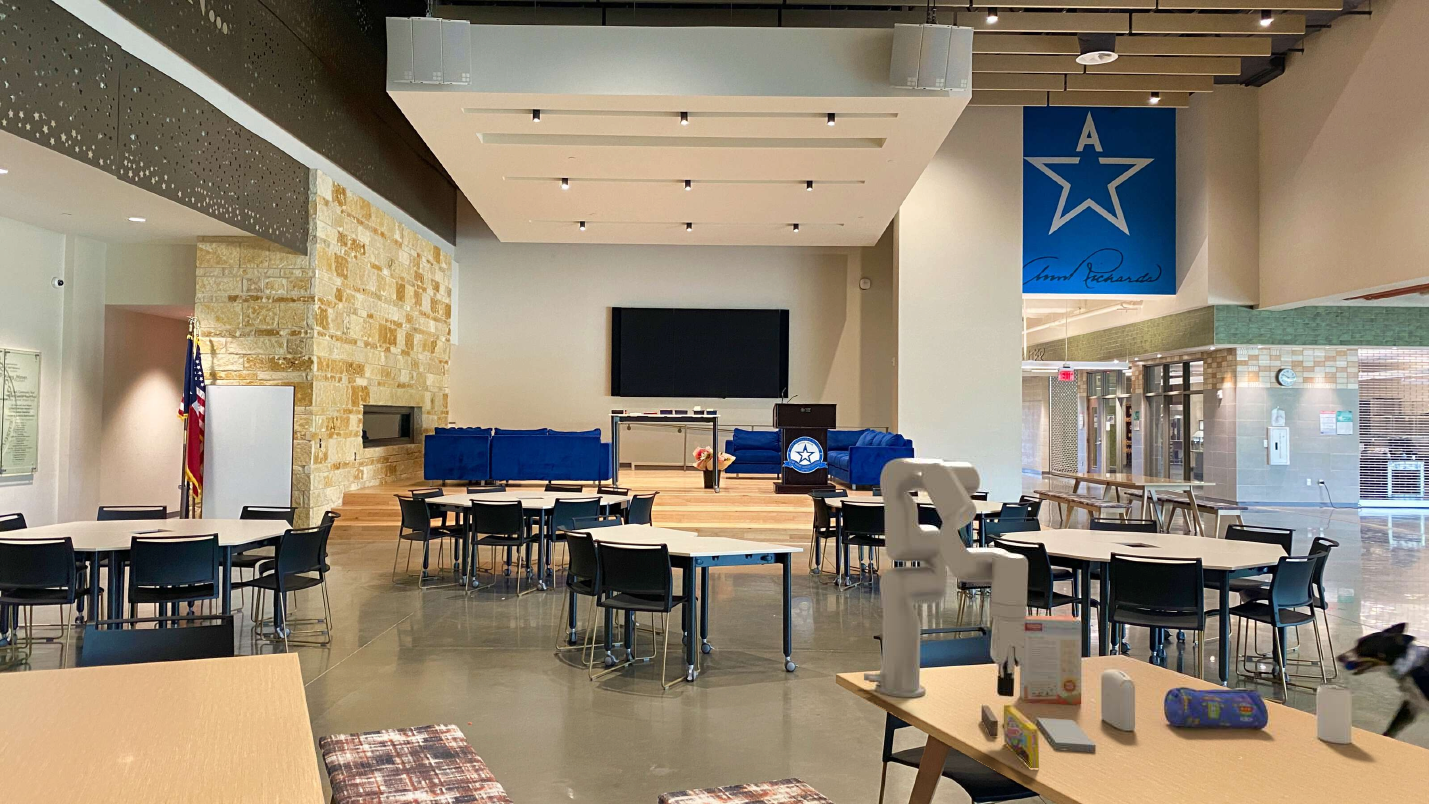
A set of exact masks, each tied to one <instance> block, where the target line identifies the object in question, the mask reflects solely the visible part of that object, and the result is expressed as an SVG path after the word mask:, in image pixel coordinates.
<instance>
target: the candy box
mask: <svg viewBox="0 0 1429 804" xmlns="http://www.w3.org/2000/svg"><path fill="white" fill-rule="evenodd" d="M1003 739H1004V742H1005V743H1006V744H1007V745H1008V746H1009V747H1010V748H1011V749H1012V750H1011V749H1010V748H1009V747H1008V746H1007V745H1006V744H1005V743H1004V744H1005V745H1006V746H1007V747H1008V748H1009V749H1010V750H1011V752H1012V753H1013V754H1014V753H1015V754H1016V755H1017V756H1018V757H1020V758H1021V759H1022V760H1023V761H1024V762H1025V763H1026V764H1027V765H1028V766H1029V767H1030V768H1039V769H1040V759H1039V758H1040V751H1039V750H1040V749H1039V747H1040V746H1039V727H1038V726H1036V725H1035V724H1034V723H1033V722H1031V721H1030V720H1029V719H1028V718H1027V717H1026V716H1025V715H1023V714H1022V713H1021V712H1020V711H1018V710H1017V708H1015V706H1013V705H1011V704H1008V705H1005V704H1004V705H1003ZM1015 754H1014V755H1015ZM1016 755H1015V756H1016ZM1018 757H1017V758H1018Z"/></svg>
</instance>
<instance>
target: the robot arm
mask: <svg viewBox="0 0 1429 804" xmlns="http://www.w3.org/2000/svg"><path fill="white" fill-rule="evenodd" d="M879 481H880V482H879V483H880V484H879V485H880V492H881V497H882V501H883V506H884V543H885V544H884V545H885V553H886V555H887V557H888V558H889V559H890V560H892V561H894V562H902V563H903V562H905V563H906V562H907V563H908V562H910V563H911V562H913V563H914V562H919V566H897V567H892V568H889V569H887V570H885V572H883V573H882V574H881V576H880V580H879V591H880V597H881V602H882V603H881V604H882V650H881V651H882V655H881V656H882V657H881V658H882V659H881V661H882V663H881V665H882V666H881V669H879V670H880V672H879V671H878V672H876V673H871V672H863V681H865V682H867V681H868V682H869V683H876V684H875V690H876V691H877V692H879V693H881V694H883V695H886V696H891V697H899V698H916V697H922V696H924V695H925V694H926V687H925V686H923V685H921V684H920V674H921V672H920V671H921V668H920V667H921V664H920V663H921V621H920V620H921V619H920V617H919V615H918V613H917V612H916V610H915V608H914V605H923V604H926V605H927V604H930V605H931V604H935V603H936V604H937V603H939V602H941V601H942V600H943V599H944V597H945V596H946V593H947V592H946V591H947V568H948V569H949V571H950V573H951V574H952V575H953V577H954V578H956V579H957V580H959V581H960V582H963V583H975V582H976V583H978V582H979V583H980V582H981V583H982V582H991V585H990V586H991V587H990V608H989V609H990V610H989V611H990V613H989V616H990V617H991V618H992V626H991V627H992V628H991V636H990V637H991V639H990V651H989V652H990V657H991V659H992V660H993V662H994V663H995V664H996V666H997V667H998V668H997V669H998V670H997V673H998V675H997V685H996V687H997V689H996V693H997V695H998V696H1000V697H1014V695H1015V694H1014V693H1015V692H1014V690H1015V670H1016V669H1015V668H1018V667H1020V661H1021V631H1022V630H1021V621H1023V620H1026V615H1027V609H1028V608H1027V605H1028V604H1027V603H1028V583H1029V582H1028V579H1029V576H1028V575H1029V561H1028V559H1027V557H1026V556H1024V555H1022V554H1021V553H1020V554H1019V553H1015V552H1014V553H1012V552H1009V551H1007V550H1006V549H1003V548H999V547H966V546H965V544H964V542H963V540H962V539H961V537H960V535H959V531H958V530H960V529H962V528H964V527H965V526H967V525H968V524H970V523H971V522H972V521H973V520H974V519H975V517H976V515H977V506H976V505H975V503H974V501H973V500H972V498H971V496H973V495H974V494H976V493H977V492H978V491H979V489H980V484H981V481H980V474H979V473H978V470H977V469H976V468H975V467H974V466H973V465H972V464H970V463H969V462H965V461H955V460H948V459H941V458H940V459H939V458H921V457H919V458H917V457H913V458H912V457H902V458H895V459H892V460H890V461H888V462H887V463H886V464H885V465H884V466H883V469H882V471H881V474H880V477H879ZM909 492H926V493H927V495H928V497H929V499H930V501H931V503H932V504H933V507H934V508H935V510H936V512H937V513H938V515H939V517H940V520H941V521H942V524H941V527H940V529H939V528H938V527H936V526H935V525H930V524H919V509H918V506H917V503H916V501H915V500H914V498H913V496H912V494H910V493H909Z"/></svg>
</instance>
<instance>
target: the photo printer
mask: <svg viewBox="0 0 1429 804" xmlns="http://www.w3.org/2000/svg"><path fill="white" fill-rule="evenodd" d="M1100 678H1101V683H1100V687H1101V688H1100V689H1101V692H1100V694H1101V695H1100V696H1101V697H1100V698H1101V699H1100V701H1101V703H1100V706H1101V709H1100V712H1101V713H1100V715H1101V719H1102V720H1103V721H1105V722H1106V723H1108V724H1109V725H1111V726H1112V727H1115V729H1117V730H1121V731H1123V732H1131V731H1132V732H1133V731H1134V730H1135V729H1136V685H1135V683H1134V681H1133V680H1132V678H1131V677H1130V676H1129V675H1127V673H1125V672H1123V671H1121V670H1119V669H1107V670H1104V671H1103V673H1102V674H1101V677H1100Z"/></svg>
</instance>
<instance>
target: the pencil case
mask: <svg viewBox="0 0 1429 804" xmlns="http://www.w3.org/2000/svg"><path fill="white" fill-rule="evenodd" d="M1264 701H1265V700H1263V699H1262V697H1261V695H1260V693H1257V692H1256V690H1255V689H1253V688H1252V687H1245V688H1244V687H1235V688H1234V689H1232V688H1228V689H1194V688H1191V687H1186V686H1185V687H1184V686H1180V687H1174V688H1170V689H1169V690H1168V691H1167V692H1166V694H1165V697H1164V701H1163V711H1164V716H1165V719H1166V721H1167V723H1168V724H1170V725H1171V726H1174V727H1185V728H1189V727H1192V728H1194V727H1197V728H1209V729H1215V728H1216V729H1220V728H1221V729H1231V728H1232V729H1249V728H1250V729H1253V730H1263V729H1264V728H1266V727H1267V725H1268V722H1269V713H1268V712H1269V711H1268V709H1267V706H1266V703H1265V702H1264Z"/></svg>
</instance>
